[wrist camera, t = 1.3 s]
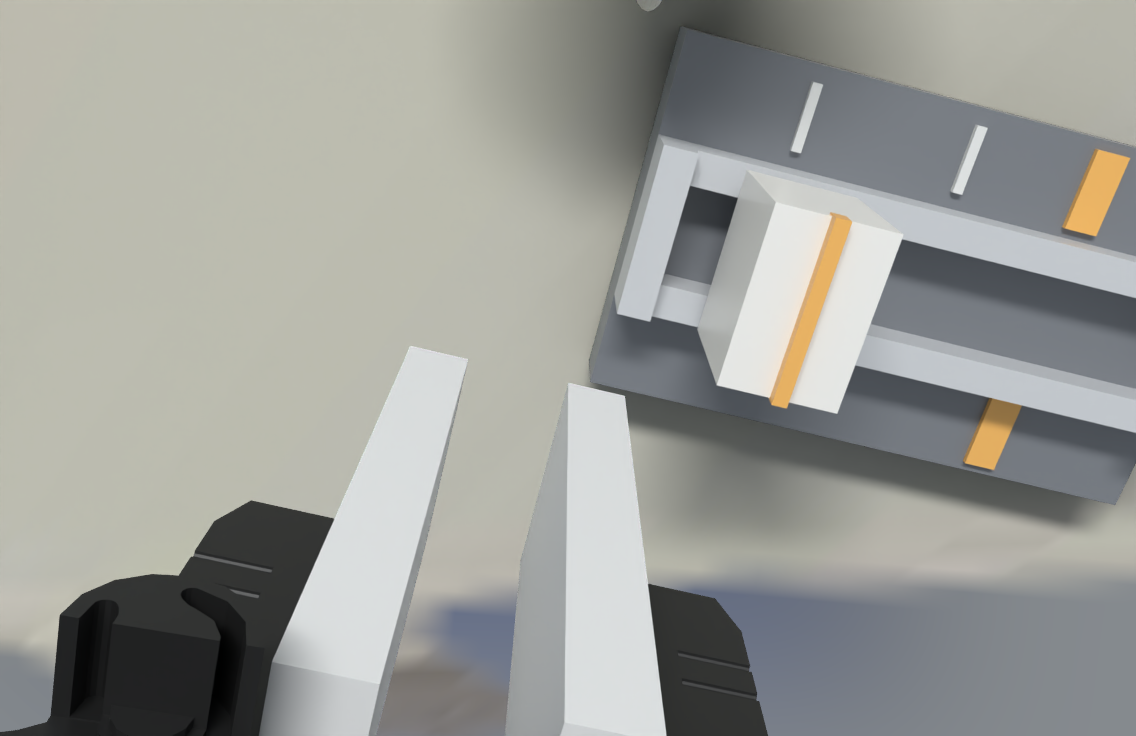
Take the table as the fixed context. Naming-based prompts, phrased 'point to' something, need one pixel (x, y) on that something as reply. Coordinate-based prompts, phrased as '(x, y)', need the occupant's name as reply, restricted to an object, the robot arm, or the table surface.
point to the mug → (648, 4)
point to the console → (900, 265)
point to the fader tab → (795, 291)
